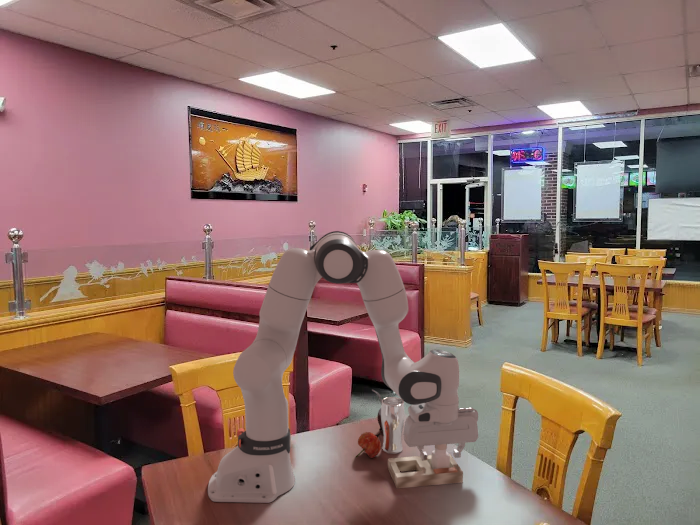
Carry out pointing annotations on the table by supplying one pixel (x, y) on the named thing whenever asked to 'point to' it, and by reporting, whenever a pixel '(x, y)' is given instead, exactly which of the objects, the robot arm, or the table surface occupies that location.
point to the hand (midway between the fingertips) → (440, 458)
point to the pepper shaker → (440, 457)
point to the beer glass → (392, 424)
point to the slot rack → (422, 472)
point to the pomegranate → (370, 444)
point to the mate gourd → (379, 412)
